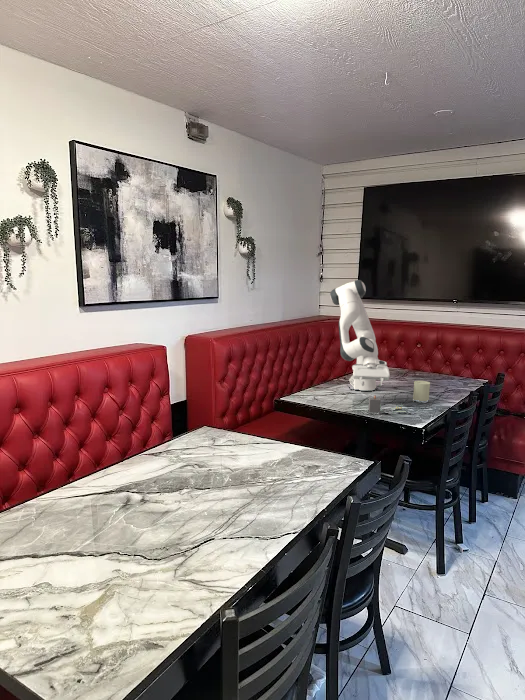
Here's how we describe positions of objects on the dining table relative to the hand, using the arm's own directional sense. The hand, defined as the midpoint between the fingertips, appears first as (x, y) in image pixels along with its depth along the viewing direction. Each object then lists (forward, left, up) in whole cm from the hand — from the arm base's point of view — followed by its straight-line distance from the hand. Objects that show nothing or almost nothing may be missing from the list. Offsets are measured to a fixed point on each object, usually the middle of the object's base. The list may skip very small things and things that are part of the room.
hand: (371, 385), depth 254 cm
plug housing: (+10, -2, -13) cm, 17 cm away
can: (-9, +36, -13) cm, 39 cm away
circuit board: (+6, +12, -13) cm, 18 cm away
